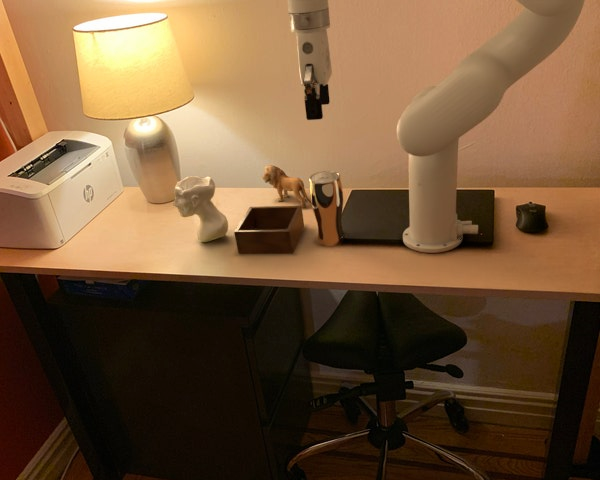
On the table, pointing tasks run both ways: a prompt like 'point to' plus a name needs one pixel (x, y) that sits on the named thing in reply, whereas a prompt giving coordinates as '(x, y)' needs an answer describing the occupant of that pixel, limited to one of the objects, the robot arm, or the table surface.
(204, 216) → the white sculpted bust
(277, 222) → the tub
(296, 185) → the lion figurine
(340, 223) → the beer glass
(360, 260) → the table surface
